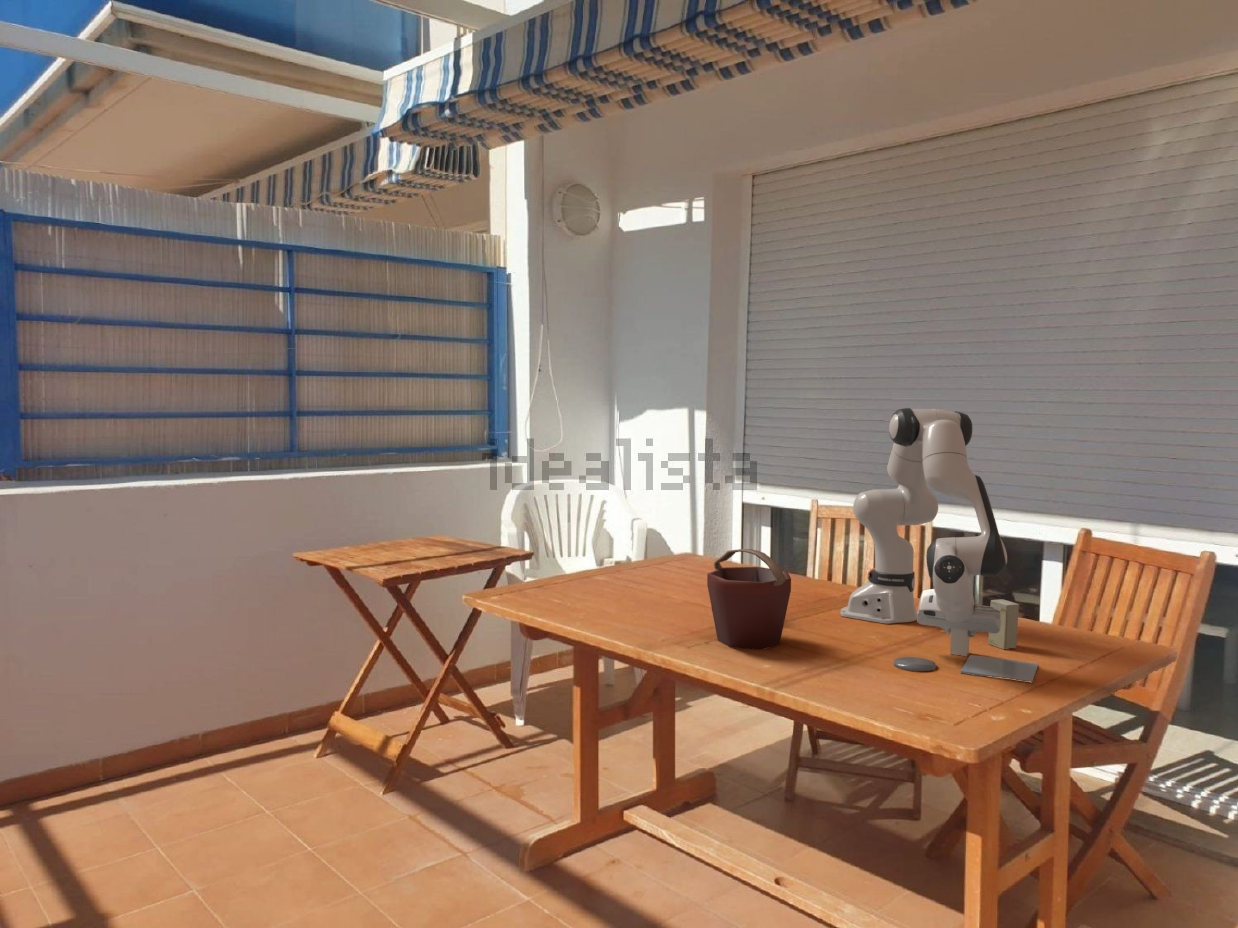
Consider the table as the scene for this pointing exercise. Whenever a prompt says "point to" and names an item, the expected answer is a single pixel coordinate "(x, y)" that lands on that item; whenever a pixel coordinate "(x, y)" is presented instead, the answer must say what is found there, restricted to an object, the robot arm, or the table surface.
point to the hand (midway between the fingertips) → (960, 633)
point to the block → (959, 642)
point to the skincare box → (1005, 624)
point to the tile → (1000, 668)
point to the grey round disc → (914, 664)
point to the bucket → (749, 602)
